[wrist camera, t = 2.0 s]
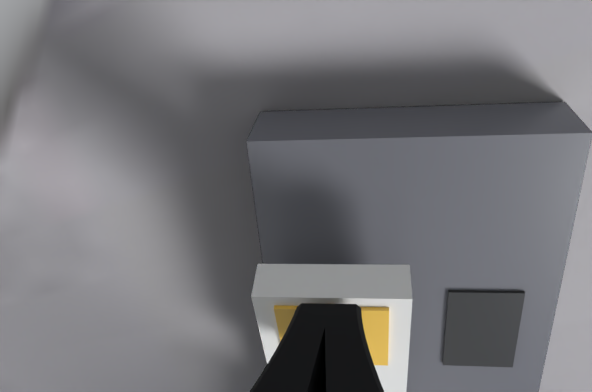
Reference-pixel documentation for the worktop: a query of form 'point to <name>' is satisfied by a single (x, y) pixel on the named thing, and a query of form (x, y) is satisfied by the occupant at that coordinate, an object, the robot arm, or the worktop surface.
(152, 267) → the worktop surface
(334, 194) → the power strip
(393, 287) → the outlet rocker
